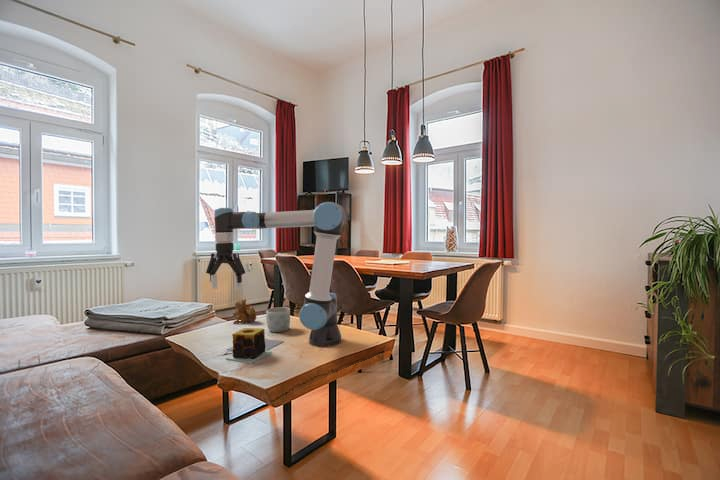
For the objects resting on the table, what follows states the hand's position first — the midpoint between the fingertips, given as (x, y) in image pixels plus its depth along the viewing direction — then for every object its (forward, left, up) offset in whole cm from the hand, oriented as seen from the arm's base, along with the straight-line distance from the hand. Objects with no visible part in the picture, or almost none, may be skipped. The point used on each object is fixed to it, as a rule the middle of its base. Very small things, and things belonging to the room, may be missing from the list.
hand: (226, 289), depth 160 cm
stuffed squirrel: (+24, -41, -27) cm, 55 cm away
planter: (-5, -32, -27) cm, 42 cm away
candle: (-16, +5, -26) cm, 31 cm away
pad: (-16, +5, -27) cm, 32 cm away
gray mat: (-10, -7, -27) cm, 29 cm away
